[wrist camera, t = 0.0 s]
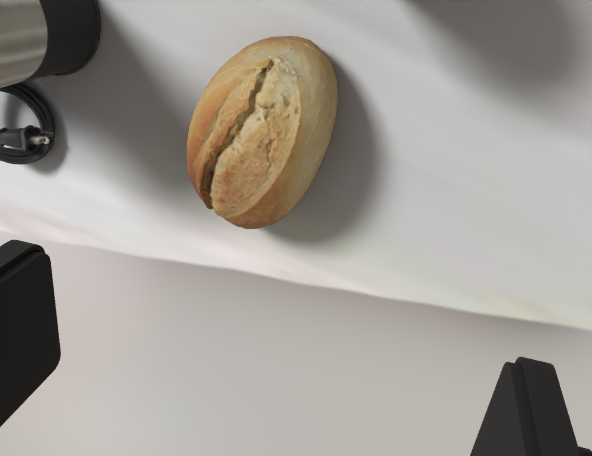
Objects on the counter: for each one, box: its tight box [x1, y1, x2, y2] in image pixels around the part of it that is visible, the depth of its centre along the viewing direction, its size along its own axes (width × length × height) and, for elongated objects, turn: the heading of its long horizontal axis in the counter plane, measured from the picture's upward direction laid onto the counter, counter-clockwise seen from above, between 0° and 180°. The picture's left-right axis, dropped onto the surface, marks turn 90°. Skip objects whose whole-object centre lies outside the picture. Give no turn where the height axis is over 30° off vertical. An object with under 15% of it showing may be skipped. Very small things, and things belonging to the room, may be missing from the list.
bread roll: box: [187, 36, 338, 229], centre depth 38 cm, size 10×15×8 cm, turn 159°
